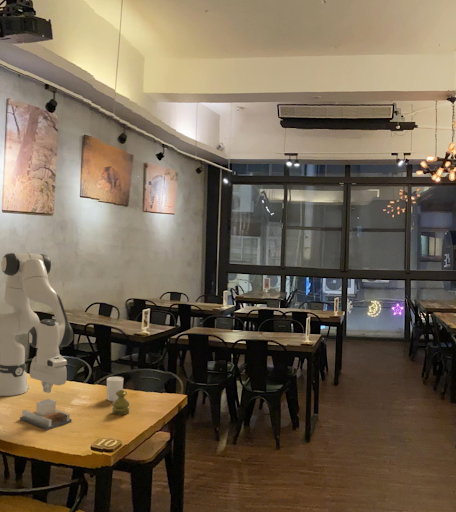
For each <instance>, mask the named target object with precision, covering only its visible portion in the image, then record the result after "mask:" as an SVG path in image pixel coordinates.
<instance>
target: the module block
mask: <svg viewBox="0 0 456 512" xmlns="http://www.w3.org/2000/svg"><path fill="white" fill-rule="evenodd" d="M56 403H57V402H56V400H54V399H50V398H48V399H43V400H40V401H37V402H36V406H35V407H36V408H35V411H36V414H37V415H40V416H45V415H49V414H52V413H55V409H56V410H57V408H56V406H57V405H56Z"/></svg>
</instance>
